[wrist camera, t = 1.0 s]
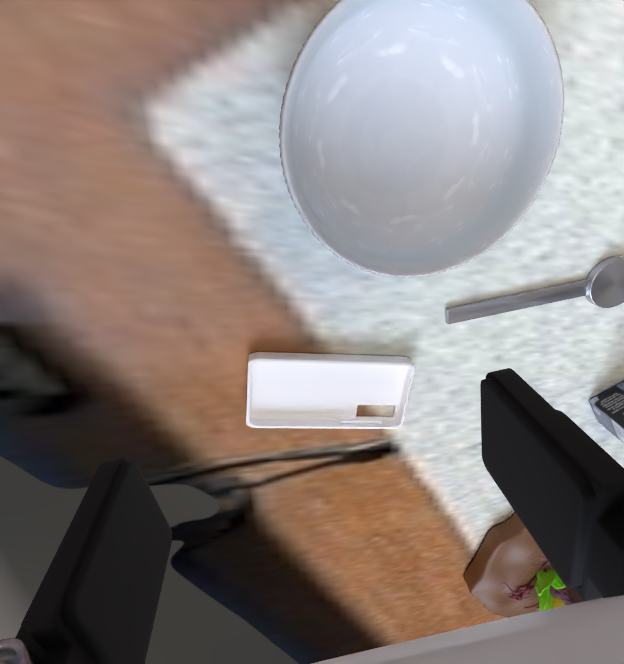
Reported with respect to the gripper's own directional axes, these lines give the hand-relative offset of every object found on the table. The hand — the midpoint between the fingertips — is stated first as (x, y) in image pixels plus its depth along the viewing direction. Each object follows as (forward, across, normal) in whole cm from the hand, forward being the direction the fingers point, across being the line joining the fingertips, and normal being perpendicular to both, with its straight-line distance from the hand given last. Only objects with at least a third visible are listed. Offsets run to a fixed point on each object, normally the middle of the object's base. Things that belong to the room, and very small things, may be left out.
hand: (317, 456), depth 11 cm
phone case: (+24, -1, +14) cm, 28 cm away
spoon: (+24, -22, +10) cm, 34 cm away
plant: (+24, -24, +47) cm, 58 cm away
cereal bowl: (+24, -10, -6) cm, 27 cm away
